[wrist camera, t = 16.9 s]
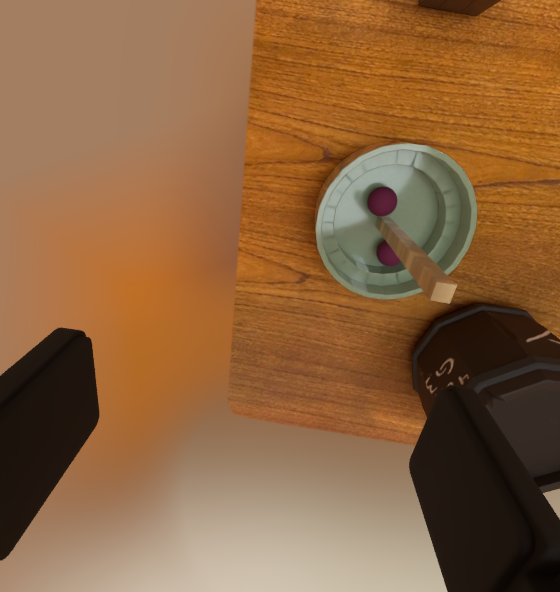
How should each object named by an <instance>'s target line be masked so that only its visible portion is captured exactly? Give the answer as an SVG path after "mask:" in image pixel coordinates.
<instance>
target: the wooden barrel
mask: <svg viewBox="0 0 560 592" xmlns="http://www.w3.org/2000/svg"><path fill="white" fill-rule="evenodd" d="M412 372H413V389H414V390H415V391H416V392H418V393H419V395H420V399H421V403H422V406H423V409H424V411H425V413H426V416H427V418H428V416H429V414H430V411H431V409H432V407H433V404H434V402H435V400H436V398H437V395H438V393H439V391H440V390H445V389H446V387H448V386H449V385H454V386H461V387H468V388H472V389H474V390H475V391H476V393H477V394H478V396H479V397H480V399H481V400H482V402H483V403H484V405H485V406H486V408H487V409H488V411H489V412H490V414H491V415H492V417H493V418H494V420H495V422H496V423H497V425H498V426H499V428H500V429H501V431H502V432H503V434H504V435H505V437H506V438H507V440H508V441H509V443H510V444H511V446H512V447H513V449H514V451H515V452H516V454H517V455H518V457H519V458H520V460H521V461H522V463H523V464H524V466H525V467H526V469H527V470H528V472H529V473H530V475H531V476H532V478H533V479H534V481H535V483H536V484H537V486H538V487H539V489H540V490H541V492H542V493H545V492H548V491H552V490H556V489H560V340H559V339H558V338H557V337H556V336H555V335H553V334H552V333H551V332H550V331H549V330H547V329H546V328H545V327H544V326H542V325H540V324H539V323H537V322H536V321H535V320H534V319H533V318H532V317H531V315H530V314H529V313H528V312H527V311H525V310H522V309H516V308H509V307H502V306H494V305H487V304H479V303H478V304H470V305H468V306H466V307H463V308H461V309H458V310H456V311H453V312H451V313H449V314H446V315H444V316H441V317H439V318H436V319H435V320H434V322H433V323H432V324H431V326H430V327H429V328H428V330H427V331H426V332H425V333H424V335H423V336H422V337H421V339H420V340H419V341H418V343H417V344H416V345H415V349H414V350H413V351H412Z"/></svg>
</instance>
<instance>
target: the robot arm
mask: <svg viewBox="0 0 560 592" xmlns="http://www.w3.org/2000/svg"><path fill="white" fill-rule="evenodd" d="M98 419H99V405H98V396H97V387H96V379H95V368H94V359H93V350H92V342H91V339H90V338H89V337H86V335H85V333H84V332H83V331H80V330H74V329H67V328H58V329H56V330H54V331H53V332H52V333H51V334H50V335H48V336H47V337H46V338H45V339H44V340H43V341H41V342H40V343H39V344H38V345H37V346H35V347H34V348H33V349H32V350H31V351H29V352H28V353H27V354H26V355H25V356H23V357H22V358H21V359H20V360H19V361H17V362H16V363H15V364H14V365H13V366H11V367H10V368H9V369H8V370H7V371H5V372H4V373H3V374H2V375H1V376H0V560H3V559H5V558H6V557H7V556H8V555H9V554H10V552H11V551H12V550H13V548H14V547H15V545H16V543H17V542H18V541H19V539H20V538H21V536H22V535H23V533H24V532H25V530H26V529H27V527H28V526H29V525H30V523H31V521H32V520H33V519H34V517H35V516H36V514H37V513H38V511H39V510H40V508H41V507H42V505H43V504H44V502H45V501H46V499H47V498H48V496H49V495H50V494H51V492H52V491H53V489H54V488H55V486H56V485H57V483H58V482H59V480H60V479H61V477H62V476H63V474H64V473H65V471H66V470H67V468H68V467H69V465H70V464H71V462H72V461H73V460H74V458H75V457H76V455H77V453H78V452H79V451H80V449H81V448H82V446H83V445H84V443H85V442H86V440H87V439H88V437H89V436H90V434H91V433H92V431H93V430H94V428H95V427H96V425H97V422H98ZM409 468H410V474H411V477H412V480H413V483H414V486H415V490H416V493H417V496H418V499H419V502H420V505H421V509H422V512H423V515H424V518H425V521H426V524H427V528H428V531H429V534H430V537H431V540H432V543H433V547H434V550H435V553H436V556H437V559H438V562H439V566H440V569H441V572H442V575H443V578H444V581H445V585H446V588H447V591H448V592H560V519H559V518H558V516H557V515H556V513H555V512H554V510H553V508H552V507H551V505H550V504H549V503H548V501H547V499H546V498H545V496H544V495H543V493H542V492H541V490H540V489H539V487H538V486H537V484H536V483H535V481H534V479H533V478H532V476H531V475H530V473H529V472H528V470H527V469H526V467H525V466H524V464H523V463H522V461H521V460H520V458H519V457H518V455H517V454H516V452H515V451H514V449H513V447H512V446H511V444H510V443H509V441H508V440H507V438H506V437H505V435H504V434H503V432H502V431H501V429H500V428H499V426H498V425H497V423H496V422H495V420H494V418H493V417H492V415H491V414H490V412H489V411H488V409H487V408H486V406H485V405H484V403H483V402H482V400H481V399H480V397H479V396H478V394H477V393H476V391H475V390H474V389H472V388H468V387H461V386H454V385H449V386H448V387H446V389H445V390H440V391H439V393H438V395H437V398H436V400H435V402H434V404H433V407H432V409H431V411H430V414H429V416H428V418H427V421H426V423H425V425H424V428H423V430H422V432H421V435H420V437H419V439H418V441H417V444H416V446H415V448H414V451H413V453H412V455H411V458H410V462H409Z"/></svg>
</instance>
